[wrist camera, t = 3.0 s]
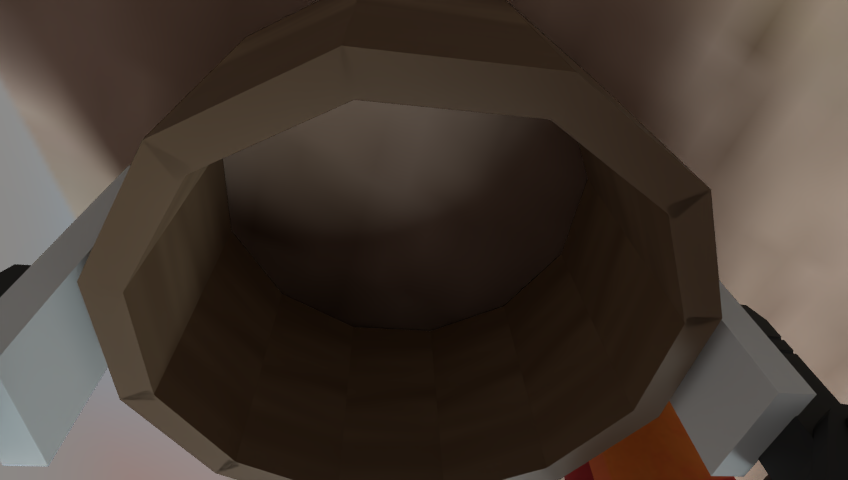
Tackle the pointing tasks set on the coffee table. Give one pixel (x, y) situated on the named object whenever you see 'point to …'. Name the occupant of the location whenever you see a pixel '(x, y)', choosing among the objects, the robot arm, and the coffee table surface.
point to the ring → (394, 348)
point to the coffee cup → (650, 455)
